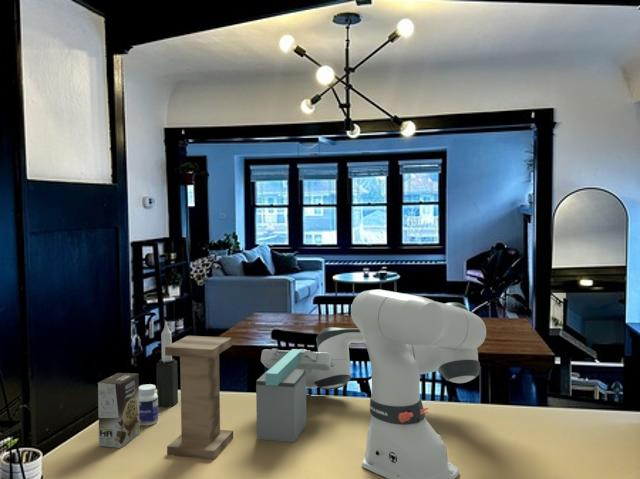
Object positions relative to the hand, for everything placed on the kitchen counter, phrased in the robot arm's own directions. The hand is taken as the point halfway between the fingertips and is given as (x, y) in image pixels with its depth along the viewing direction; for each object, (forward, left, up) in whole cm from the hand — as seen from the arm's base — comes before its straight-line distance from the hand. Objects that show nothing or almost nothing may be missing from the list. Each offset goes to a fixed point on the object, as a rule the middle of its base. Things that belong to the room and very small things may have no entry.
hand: (290, 352), depth 151 cm
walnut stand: (-3, +27, -19) cm, 33 cm away
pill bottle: (+20, +34, -19) cm, 44 cm away
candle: (+31, +25, -19) cm, 44 cm away
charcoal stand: (-6, +6, -19) cm, 21 cm away
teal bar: (-3, +4, -4) cm, 6 cm away
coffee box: (+12, +43, -19) cm, 49 cm away
